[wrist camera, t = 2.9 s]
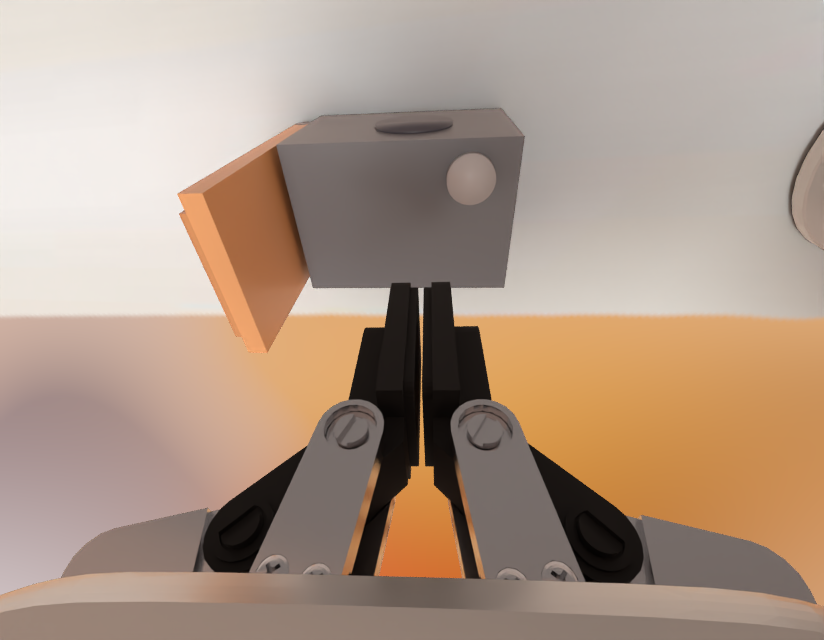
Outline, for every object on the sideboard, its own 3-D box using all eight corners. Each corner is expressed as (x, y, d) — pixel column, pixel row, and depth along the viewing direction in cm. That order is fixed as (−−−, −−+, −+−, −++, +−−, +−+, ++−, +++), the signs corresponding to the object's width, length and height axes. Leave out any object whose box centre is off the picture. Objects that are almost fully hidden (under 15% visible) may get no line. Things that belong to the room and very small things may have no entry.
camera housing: (501, 104, 19) (527, 134, 13) (489, 229, 24) (505, 292, 18) (320, 112, 20) (270, 143, 14) (341, 232, 24) (310, 293, 19)
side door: (311, 121, 20) (202, 193, 11) (333, 233, 24) (267, 352, 15) (291, 122, 20) (164, 194, 11) (316, 233, 24) (239, 352, 15)
